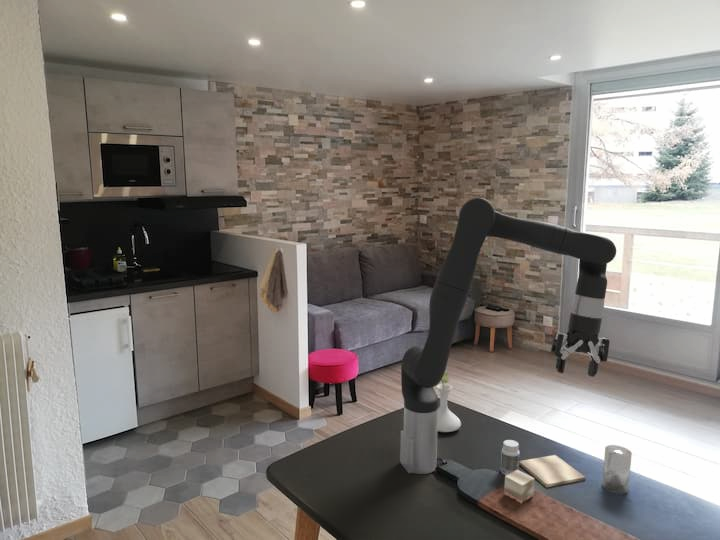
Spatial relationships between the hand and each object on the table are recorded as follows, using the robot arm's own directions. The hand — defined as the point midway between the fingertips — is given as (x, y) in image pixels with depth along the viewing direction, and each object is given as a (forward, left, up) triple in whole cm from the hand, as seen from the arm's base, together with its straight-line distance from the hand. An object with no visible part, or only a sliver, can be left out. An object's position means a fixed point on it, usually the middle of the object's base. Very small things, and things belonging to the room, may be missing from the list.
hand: (575, 374), depth 133 cm
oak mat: (-4, +2, -28) cm, 28 cm away
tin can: (+7, -9, -28) cm, 30 cm away
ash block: (-19, -5, -28) cm, 34 cm away
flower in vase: (-21, +34, -28) cm, 49 cm away
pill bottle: (-15, +5, -28) cm, 32 cm away
